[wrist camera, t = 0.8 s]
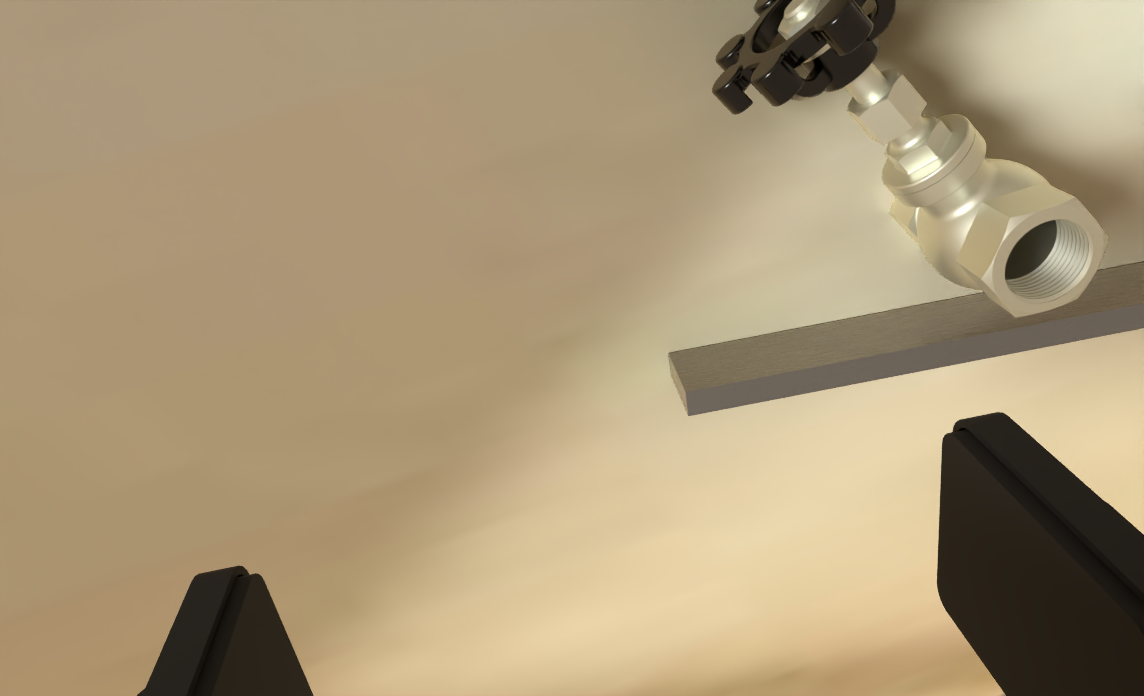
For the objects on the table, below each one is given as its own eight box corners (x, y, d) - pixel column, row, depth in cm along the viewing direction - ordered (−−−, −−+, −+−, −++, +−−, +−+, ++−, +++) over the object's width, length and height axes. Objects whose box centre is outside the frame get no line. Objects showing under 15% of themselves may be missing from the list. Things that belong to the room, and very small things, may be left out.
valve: (1045, 166, 30) (841, -92, 26) (1180, 224, 24) (946, -96, 20) (900, 294, 32) (687, 73, 28) (994, 377, 26) (742, 114, 22)
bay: (1531, -294, 25) (1656, -321, 23) (1377, 239, 33) (1457, 267, 30) (607, -123, 25) (623, -129, 22) (671, 375, 33) (688, 416, 30)
